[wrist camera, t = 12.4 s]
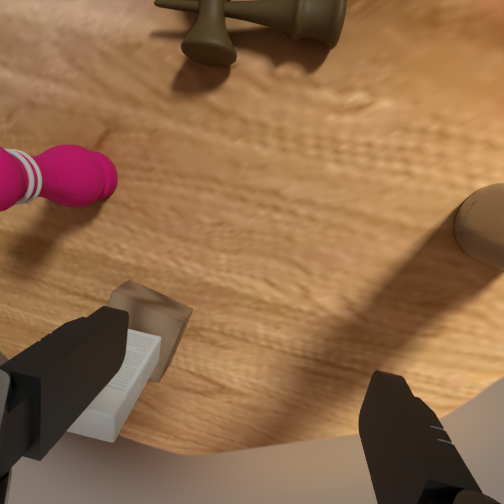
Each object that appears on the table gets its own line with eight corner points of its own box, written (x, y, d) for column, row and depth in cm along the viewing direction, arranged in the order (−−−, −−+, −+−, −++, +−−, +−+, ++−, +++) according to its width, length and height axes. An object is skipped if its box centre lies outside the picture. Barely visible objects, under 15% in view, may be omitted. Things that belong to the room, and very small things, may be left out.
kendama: (330, 80, 36) (162, 63, 37) (346, -17, 34) (166, -32, 35) (340, 60, 30) (140, 41, 31) (360, -58, 28) (143, -75, 29)
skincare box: (117, 350, 42) (54, 430, 31) (118, 324, 40) (52, 399, 29) (160, 361, 42) (113, 445, 31) (163, 336, 40) (114, 415, 29)
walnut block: (194, 307, 45) (182, 323, 40) (171, 361, 48) (158, 383, 43) (131, 278, 45) (112, 291, 40) (112, 334, 48) (92, 352, 43)
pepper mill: (63, 153, 41) (-136, 135, 22) (113, 142, 40) (-52, 113, 21) (79, 207, 43) (-94, 234, 24) (127, 198, 42) (-13, 220, 22)
